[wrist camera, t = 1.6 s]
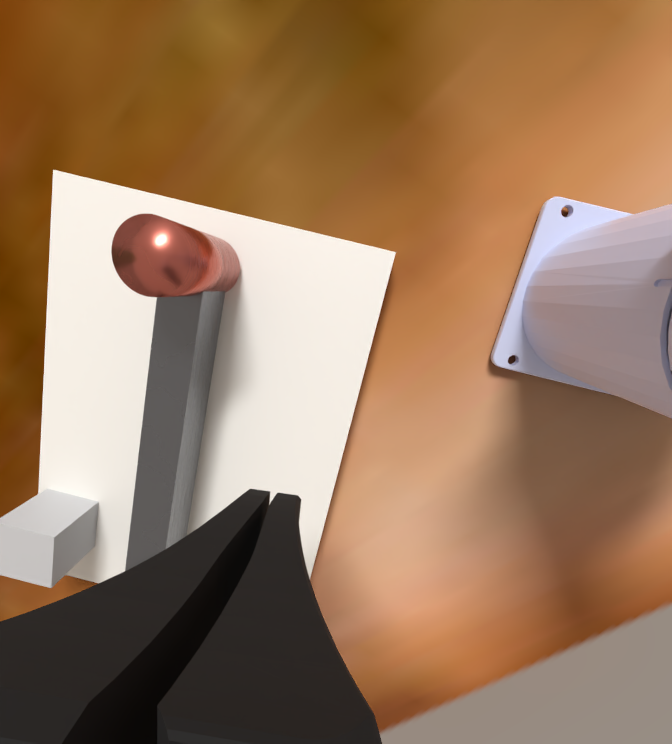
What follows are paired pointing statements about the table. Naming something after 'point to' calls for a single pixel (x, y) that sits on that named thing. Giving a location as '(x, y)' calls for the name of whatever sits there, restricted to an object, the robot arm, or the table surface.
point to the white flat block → (228, 384)
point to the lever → (172, 366)
